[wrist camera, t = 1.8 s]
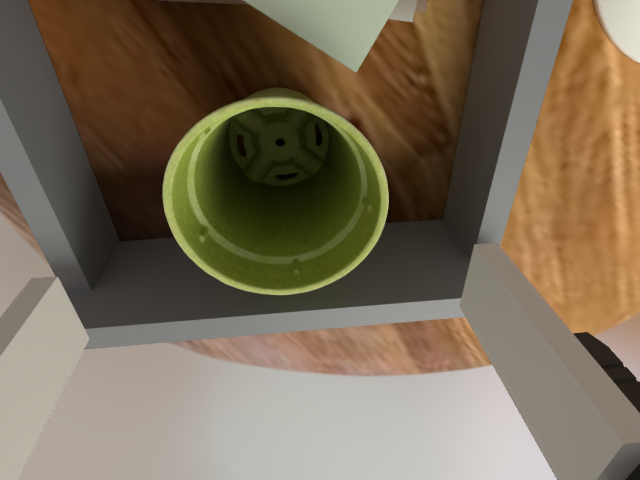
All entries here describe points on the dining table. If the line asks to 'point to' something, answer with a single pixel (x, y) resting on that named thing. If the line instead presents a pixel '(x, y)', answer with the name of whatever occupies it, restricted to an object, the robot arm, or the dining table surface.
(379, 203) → the plant pot
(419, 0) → the offcut bottom
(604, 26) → the mat
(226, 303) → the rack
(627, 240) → the dining table surface
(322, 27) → the offcut top
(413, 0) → the block
